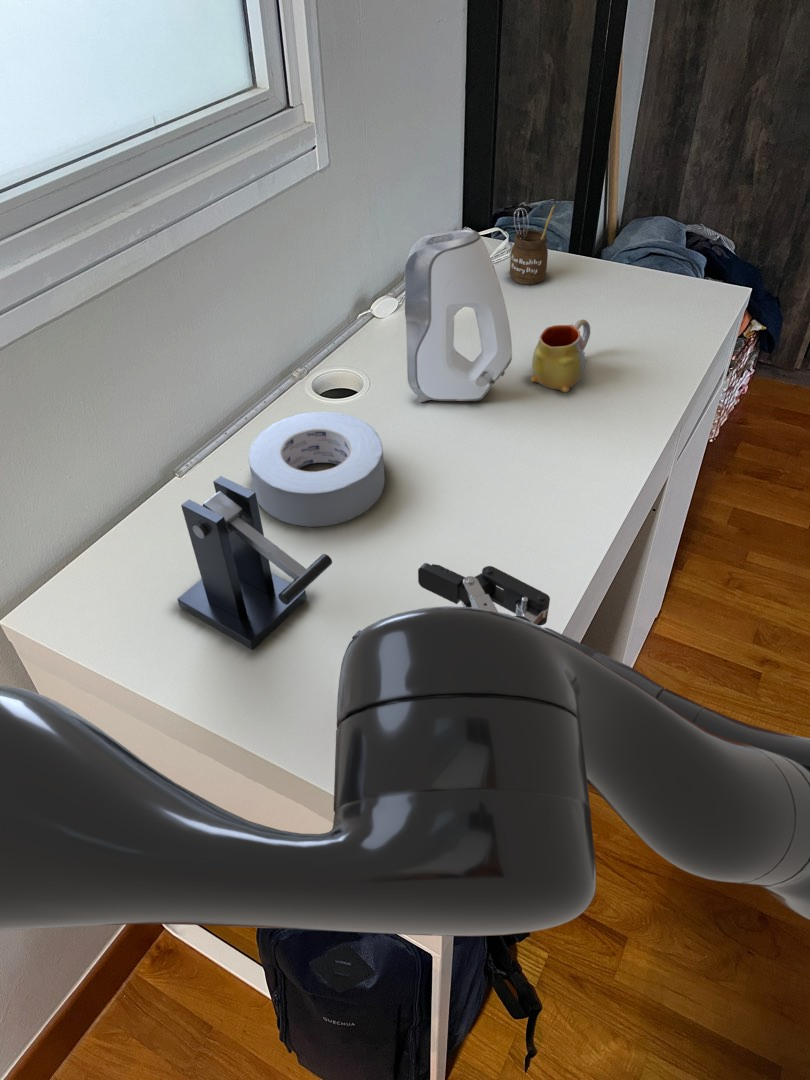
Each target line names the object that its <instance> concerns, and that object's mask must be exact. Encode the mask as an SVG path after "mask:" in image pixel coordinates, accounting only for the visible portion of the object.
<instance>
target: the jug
mask: <svg viewBox="0 0 810 1080" xmlns="http://www.w3.org/2000/svg"><path fill="white" fill-rule="evenodd" d="M404 290H405V291H404V317H405V329H406V330H405V331H406V332H405V333H406V336H405V337H406V370H407V373H406V374H407V383H408V387H409V388H410V389H411V391H412V392H413V394H415V395H417V401H418V403H424V402H427V401H431V400H432V401H437V402H438V401H440V402H441V401H443V402H444V401H445V402H447V401H448V402H458V401H459V402H478V401H480V400H482V399H483V398H484V397H485V396H486V395H487V394H488V392H489V391H490V390H491V389H492V387H493V386H494V385H495V383H496V382H497V381H498V380H500V378H501V377H503V376H504V375H505V373H506V370H507V369H508V368H509V366H510V364H511V363H512V360H513V346H512V345H513V344H512V333H511V327H510V321H509V320H510V319H509V315H508V311H507V305H506V302H505V298H504V294H503V291H502V288H501V284H500V280H499V277H498V274H497V272H496V269H495V266H494V263H493V260H492V257H491V255H490V253H489V250H488V248H487V246H486V244H485V242H484V239H483V237H482V235H481V234H480V233H479V232H478V231H476V230H474V229H456V230H455V229H454V230H448V231H442V232H435V233H431V234H428V235H425V236H422V237H421V238H419V239H418V240H417V241H416V242H414V244H413V245H412V246H411V248H410V250H409V252H408V257H407V260H406V263H405V266H404ZM461 308H471V309H473V311H474V314H475V318H476V322H477V328H478V333H479V341H480V349H481V350H480V353H479V354H478V355H477V357H476V358H475V359H474V360H472V361H471V360H469V359H468V358H466V357H465V356H464V355H462V354H461V353H460V352H458V350H457V349H456V348H455V343H454V342H455V316H456V315H457V314H458V312H459V311H460V309H461Z"/></svg>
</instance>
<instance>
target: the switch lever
mask: <svg viewBox="0 0 810 1080" xmlns="http://www.w3.org/2000/svg"><path fill="white" fill-rule="evenodd" d="M202 506H203V507H205V508H207V509H209V510H211V511H213V512H215V513H217V514H219V515H221V516H223V517H224V518H225V523H226V527H227V531H228V533H230V532H231V531H232V532H233V533H235V534H236V535H237V536H239V537H240V538H241V539H242V540H244V541H245V542H246V543H248V544H249V545H250V546H251V547H253V548H254V549H255V550H257V551H258V552H259V553H260V554H262V555H263V556H264V557H266V558H267V559H268V560H269V562H270V563H272V564H273V565H274V566H275V567H277V568H278V569H280V570H281V571H282V572H283V573H284V574H286V575H287V576H288V577H290V578H291V579H292V581H291V582H290V583H291V584H289V585H288V586H287V587H286V588H285V589H284V590H283V591H282V592H281V593H280V594H279V595H278V597H279V599H280V601H281V602H282V603H284V604H286V605H288V604H289V603H290V602H291V601H292V600H294V599H295V598H296V597H297V596H298V595H299V594H300V593H301V592H302V591H303V590H306V589H307V588H308V587H309V586H310V585H311V584H312V583H313V582H314V581H315V580H316V579H318V577H319V576H320V575H322V574H323V573H324V572H325V571H326V570H327V569H328V568H329V567H330V566H331V565H332V564H333V559H332V558H331V557H330V556H329V555H328V554H326V553H322V554H321V555H320V556H319V557H318V558H317V559H316V560H314V561H313V562H312V564H310V565H309V566H308V567H307V568H306V567H304V566H303V565H302V564H301V563H299V562H298V561H297V560H295V559H294V558H293V557H291V556H290V555H289V554H288V553H286V552H285V551H284V550H282V549H281V548H279V546H277V545H276V544H275V543H274V542H272V541H271V540H269V539H268V538H267V537H265V535H264V536H263V535H262V534H260V533H259V532H258V531H256V530H255V529H254V528H253V527H251V526H250V525H249V524H247V523H246V522H245V521H244V520H242V519H241V516H242V507H240V506H239V505H238V504H236V503H235V502H234V501H232V500H231V499H230V498H229V497H227V496H226V495H225V494H223V493H222V492H221V491H219V492H218V493H216V492H215V493H214V495H213V496H211V497H209V498H208V499H207V500H206V501H205V502H203V503H202Z"/></svg>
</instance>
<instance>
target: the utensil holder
mask: <svg viewBox="0 0 810 1080" xmlns="http://www.w3.org/2000/svg"><path fill="white" fill-rule="evenodd" d="M555 206H556V204H553V206H552V207H551V209H550V212H549V215H548V217H547V219H546V221H545V225H544V229H543V231H541V230H538V229H530V228H529V226H530V222H529V213H527V211H525V213H526V216H527V217H526V218H527V227H526V229H522V230H521V227H520V226H521V225H520V223H517V226H518V229H519V231H518V230H517V227H516V226H514V228H515V230H516V233H515V235H514V237H513V246H512V247H511V249H510V250H511V251H510V260H509V277H510V279H511V280H512V281H513V282H515V283H516V284H519V285H530V286H531V285H537V284H540V283H542V282H543V281H544V280H545V278H546V275H547V268H548V257H549V256H548V254H549V251H548V250H549V249H548V247H547V243H548V238H547V237H548V236H547V235H546V231H547V229H548V226H549V225H550V223H551V219H552V216H553V212H554V209H555ZM517 210H518V211H522V212H521V213H522V214H521V215H522V216H525V214H524V211H523V210H525V207H524V208H523V207H518V208H517ZM516 214H517V215H516ZM519 215H520V212H517V211H514V212H513V222H514V223H513V225H516V220H519V218H520V216H519ZM516 216H517V219H515V217H516ZM526 218H525V217H523V223H522V224H525V222H526Z"/></svg>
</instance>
